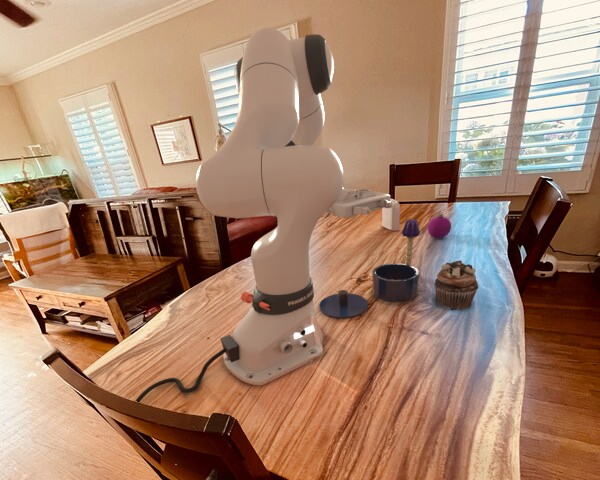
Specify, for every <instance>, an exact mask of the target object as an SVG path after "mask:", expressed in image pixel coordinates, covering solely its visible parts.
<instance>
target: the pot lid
mask: <svg viewBox="0 0 600 480" xmlns="http://www.w3.org/2000/svg"><path fill="white" fill-rule="evenodd" d="M318 307H319V311H320V312H321V313H322V314H323V315H325V316H326V317H329V318H333V319H339V320H340V319H341V320H343V319H352V318H357V317H359V316H361V315H363V314H364V313H366V311H368V308H369V302H368V300H367V299H366V298H365V297H363V296H361V295H359V294H357V293H350V292H349V291H347V290H346V289H341V290H338V292H337V293H335V294H330V295H328V296H326V297H324V298H323V299H321V301H320V303H319V305H318Z"/></svg>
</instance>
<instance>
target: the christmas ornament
mask: <svg viewBox="0 0 600 480" xmlns="http://www.w3.org/2000/svg"><path fill="white" fill-rule="evenodd" d="M451 231H452V223H451V221H450V219H449V218H448V217H445V216H444V213H441V211H440V212H438V214H437V216H435V217H433V218H432V219H430V221H429V222H428V223H427V233H428V234H429V236H430V237H432V238H434V239H443V238H445V237H446V236H448V235H449V234H450V232H451Z"/></svg>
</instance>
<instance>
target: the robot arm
mask: <svg viewBox="0 0 600 480" xmlns="http://www.w3.org/2000/svg"><path fill="white" fill-rule="evenodd" d="M334 64H335V62H334V56H333V53H332V50H331V47H330V46H329V45H328V42H327V39H326V38H325V37H324V36H322V35H321V34H319V33H318V34H317V33H316V34H315V33H314V34H306V35H304V37H298V38H293V39H288V37H286V35H285V34H284V33H282V32H281V31H279V30H278V29H276V28H272V27H264V28H260V29H258V30H256V31H254V32H253V33H252V34H251V35H250V37H249V38H248V40H247V41H246V44H245V48H244V51H243V56H242V57H241V58H240V59H238V61H237V62H236V65H235V68H234V81H235V86H236V89H237V93H238V95H239V96H238V106H237V108H238V109H237V115H236V119H235V123H234V125H233V128H232V130H231V132H230V133H229V135H228V136H227V138H226V139H225V141H224V142H223V144H222V145H221V146H220V147H219V148H218V149H217V151H215V152H214V153H213V154H212V155H210V156H209V157H208V158H206V159H205V160H204V161H202V162H201V164H200V165H199V168H198V170H197V172H196V177H195V189H196V194H197V197H198V199H199V202H200V203H201V205H202V206H203V207H204V209H205V210H206V211H207V212H208V213H209V214H210V215H212V216H214V217H221V218H231V219H247V218H258V217H270V216H272V217H275V218H276V219H277V226H276V227H275V228H274V229H272V230H271V231H269V232H267V233H266V234H264V235H263V236H262V237H260V238H259V239H257V241H255V242H254V244H253V246H252V248H251V252H250V259H251V265H252V271H253V275H254V280H255V285H254V290H253V291H254V292H253V294H252V293H249V292H248V291H243V292H241V295H240V299H241V301H242V302H244V303H246V304H251V307H250V308H249V310H248V311H247V312H246V313H245V315H244V316H243V318H242V319H241V320H240V322H239V323H238V324H237V325H236V326H235V328H234V330H233V331H232V333H231V334H228V335H226V336H222V337H220V341H221V345H222V346H221V347H222V349H221V350H219V351H218V352H217V353H216V354H214V355H213V356H211V357H210V358H209V359H208V360H207V361H206V362H205V363H204V365H203V367H202V369H201V371H200V373H199V374H198V376H197V378H196V380H195V382H194V384H193V386H191V387H187V388H186V387H185V386H184V385H183V383H182V381H181V380H180V379H179V378H177V377H169V378H164V379H161V380H160V381H157V382H155V383H153V384H151V385H150V386H148V387H147V388H146V389H144V390H143V391H142V392H141V393H140V394H139V396H138V397H137V398H136V399H135V401H137V402H139V403H141V401H143V399H144V398H145V397H146V396H147V395H148V394H149V393H151V391H153V390H154V389H157V388H158V387H160V386H162V385H165V384H168V383H175V384H176V385H177V388H178V389H179V391H181V392H182V393H184V394H189V393H192V392H194V391H196V390H197V389H198V387H199V385H200V384H201V381H202V379H203V378H204V376H205V374H206V372H207V369H208V368H209V367H210V366H211V364H212V363H214V362H215V361H216V360H218V359H219V358H220V357H221V356H222V355H223V357H222V358H223V363H224V366H225V368H226V369H227V370H228V371H229V372H230V374H232V375H233V376H234V377H235V378H237V379H238V380H240V381H242V382H244V383H246V384H248V385H253V386H264V385H266V384H268V383H270V382H272V381H274V380H276V379H278V378H281V377H282V376H285V375H286V374H289V373H291V372H293V371H294V370H297V369H298V368H301V367H303V366H305V365H307V364H309V363H310V361H312V360H314V359H316V358H318V357H320V356H322V355H323V354H324V348H323V345H322V343H323V339H324V335H323V331H322V329H321V327H320V325H319V321H318V318H317V314H316V311H315V305H314V298H315V292H314V291H315V290H314V285H313V279H312V278H311V276H310V275H311V274H310V242H311V237H312V234H313V232H314V230H315V228H316V225H317V224H318V222H319V220H320V219H321V218H322V216H323V215H324V214H325V213H328V214H332V215H333V216H334V217H336V218H340V219H347V218H354V217H356V216H359V215H364V216H366V215H369V214H370V213H371V212H373V211H376V210H380V209H381V210H382V208H392V204H393V203H392V202H390V199H391V195H390V194H388V193H385V192H379V191H372V189H355V188H354V189H353V188H352V189H350V188H345V183H344V180H345V175H344V169H343V165H342V162H341V160H340V158H339V157H338V155H337V154H336V152H335V151H333V150H332V148H330V147H328V146H320V145H314V144H315V142H316V141H317V139H318V138H319V137H320V135H321V133H322V131H323V129H324V125H325V108H324V103H323V100H322V93H324V92H326V91H327V90H328V89H329V87H330V86H331V84H332V82H333V75H334V69H335V65H334Z"/></svg>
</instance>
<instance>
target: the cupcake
mask: <svg viewBox="0 0 600 480" xmlns="http://www.w3.org/2000/svg"><path fill="white" fill-rule="evenodd" d="M476 271H477V270H476V268H474V267H473V265H472V264H465V263H464V262H463V261H462V260H456V261H455V260H454V261H452V262H446V263H444V264H442V265H441V269H440V270H439V272H438V273H437V275H436V279H435V281H434V291H435V299H436V302H437V303H438V304H440V305H442V306H444V307H448V308H450V309H451V310H453V311H459V310H461V311H462V310H466V309H468V308H469V307H471V305H472V304H473V300H474V299H475V296H476V293H477V291H478V290H479V287H480V286H479V283H478V281H477V276H476V275H475V273H476Z"/></svg>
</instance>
